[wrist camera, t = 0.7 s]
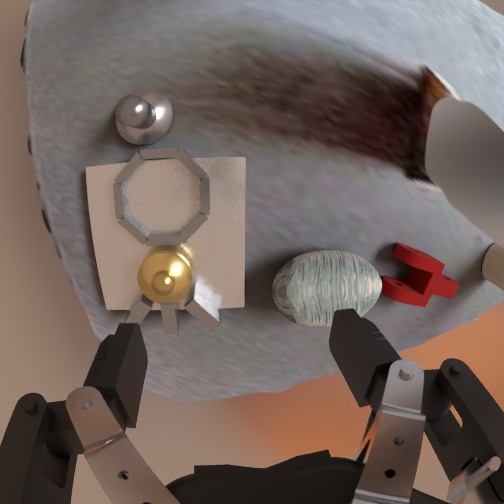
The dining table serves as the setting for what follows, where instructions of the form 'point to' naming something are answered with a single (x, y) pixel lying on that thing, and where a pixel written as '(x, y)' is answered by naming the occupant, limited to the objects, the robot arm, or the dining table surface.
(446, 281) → the mechanical linkage
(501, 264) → the travel mug
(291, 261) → the streaked stone egg
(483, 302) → the dining table surface
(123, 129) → the silver knob
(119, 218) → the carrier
